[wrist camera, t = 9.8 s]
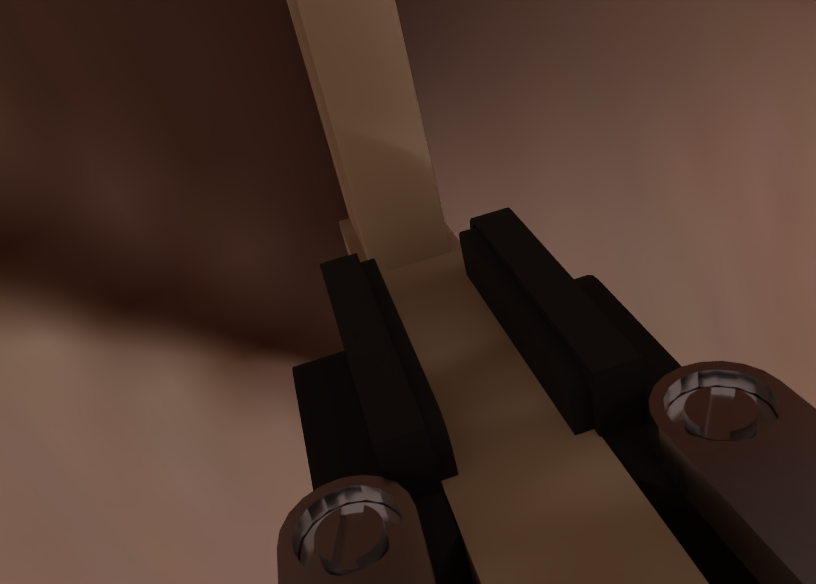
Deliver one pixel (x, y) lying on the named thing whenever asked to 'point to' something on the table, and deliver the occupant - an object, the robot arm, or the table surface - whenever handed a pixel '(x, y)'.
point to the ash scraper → (469, 337)
